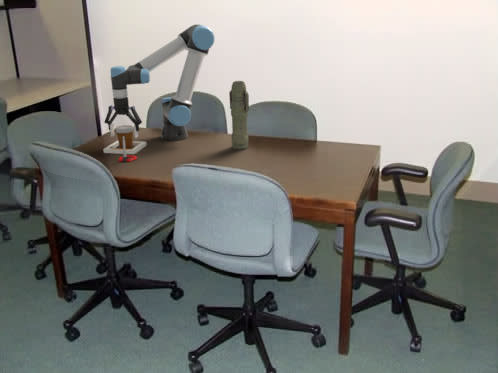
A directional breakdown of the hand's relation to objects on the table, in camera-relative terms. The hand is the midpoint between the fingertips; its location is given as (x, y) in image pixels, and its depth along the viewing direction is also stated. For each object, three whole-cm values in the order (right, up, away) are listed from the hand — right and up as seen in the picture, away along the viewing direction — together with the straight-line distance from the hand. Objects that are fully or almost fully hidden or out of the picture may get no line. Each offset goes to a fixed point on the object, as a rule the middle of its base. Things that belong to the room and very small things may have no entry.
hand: (124, 136), depth 295 cm
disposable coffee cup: (0, -7, +2) cm, 7 cm away
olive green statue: (+61, -6, +2) cm, 62 cm away
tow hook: (+5, -13, -15) cm, 21 cm away
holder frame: (0, -6, +2) cm, 7 cm away
